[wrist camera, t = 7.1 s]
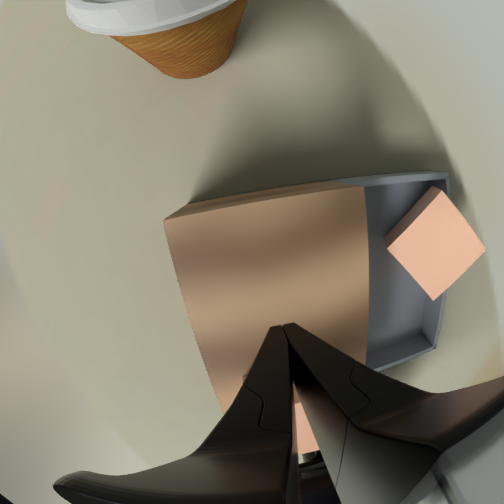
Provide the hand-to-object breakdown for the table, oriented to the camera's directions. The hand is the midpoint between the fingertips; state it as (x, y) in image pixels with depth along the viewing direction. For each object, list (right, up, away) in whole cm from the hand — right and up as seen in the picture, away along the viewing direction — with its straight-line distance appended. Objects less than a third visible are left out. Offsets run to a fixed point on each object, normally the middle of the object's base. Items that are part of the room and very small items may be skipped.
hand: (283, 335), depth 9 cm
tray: (+11, +1, +13) cm, 17 cm away
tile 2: (+12, +3, +7) cm, 15 cm away
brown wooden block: (+1, -1, +13) cm, 13 cm away
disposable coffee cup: (-6, +19, +7) cm, 21 cm away
